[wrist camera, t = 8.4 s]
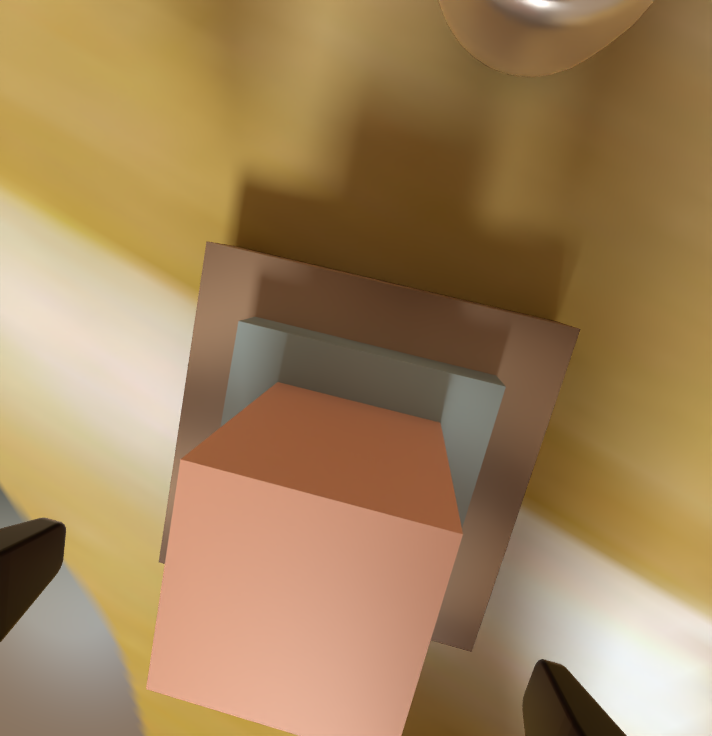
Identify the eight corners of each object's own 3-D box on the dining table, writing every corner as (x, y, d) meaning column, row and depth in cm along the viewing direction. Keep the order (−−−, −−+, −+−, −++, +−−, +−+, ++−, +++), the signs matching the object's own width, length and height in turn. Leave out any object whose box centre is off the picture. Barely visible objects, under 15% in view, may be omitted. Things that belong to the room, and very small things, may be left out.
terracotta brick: (399, 568, 15) (392, 763, 9) (249, 527, 15) (146, 689, 9) (440, 422, 14) (462, 534, 8) (277, 381, 14) (180, 459, 8)
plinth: (463, 603, 19) (477, 688, 15) (189, 527, 20) (135, 588, 16) (555, 321, 16) (600, 335, 13) (235, 246, 17) (184, 237, 13)
